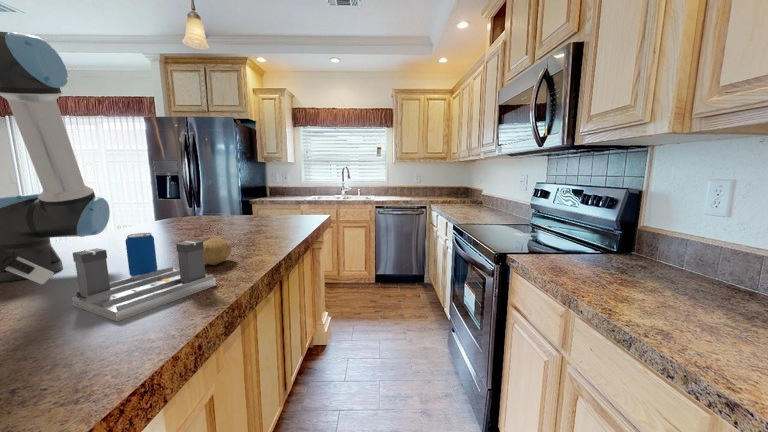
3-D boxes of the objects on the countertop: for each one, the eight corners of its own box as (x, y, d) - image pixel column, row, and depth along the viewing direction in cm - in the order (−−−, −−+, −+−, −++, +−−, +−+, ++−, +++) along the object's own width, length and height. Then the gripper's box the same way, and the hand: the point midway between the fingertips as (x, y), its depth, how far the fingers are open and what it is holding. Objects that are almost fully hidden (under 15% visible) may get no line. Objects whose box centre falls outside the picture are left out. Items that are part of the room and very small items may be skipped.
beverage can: (163, 271, 93) (159, 232, 91) (144, 278, 87) (139, 237, 85) (143, 270, 94) (139, 232, 92) (123, 278, 87) (118, 236, 86)
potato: (191, 271, 93) (188, 246, 92) (204, 259, 106) (202, 236, 105) (226, 269, 96) (224, 243, 94) (234, 257, 109) (233, 234, 108)
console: (73, 305, 69) (71, 292, 69) (173, 275, 89) (172, 265, 89) (116, 321, 62) (115, 307, 62) (216, 285, 82) (215, 274, 81)
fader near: (78, 295, 69) (72, 252, 68) (102, 289, 73) (97, 247, 72) (87, 298, 68) (81, 254, 66) (111, 291, 72) (106, 249, 70)
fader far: (179, 282, 78) (176, 243, 76) (196, 276, 82) (193, 239, 80) (189, 284, 76) (186, 244, 75) (206, 278, 80) (203, 241, 79)
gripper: (-167, 221, 46) (16, 290, 64) (-151, 227, 41) (45, 300, 58) (-109, 185, 50) (49, 258, 68) (-88, 186, 45) (78, 265, 62)
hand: (47, 278), depth 63 cm, fingers closed
